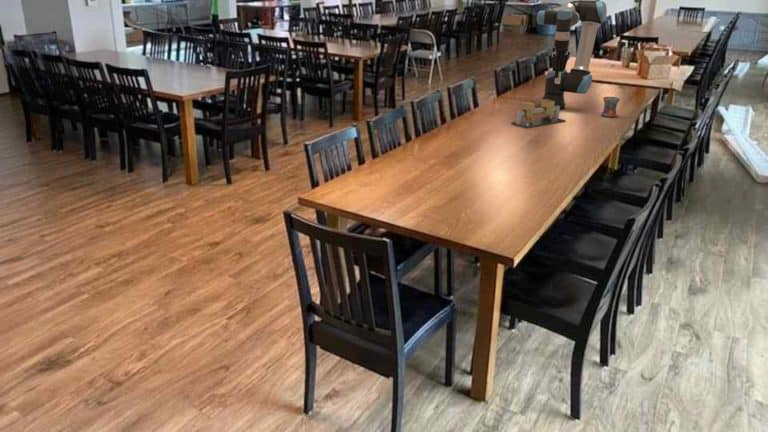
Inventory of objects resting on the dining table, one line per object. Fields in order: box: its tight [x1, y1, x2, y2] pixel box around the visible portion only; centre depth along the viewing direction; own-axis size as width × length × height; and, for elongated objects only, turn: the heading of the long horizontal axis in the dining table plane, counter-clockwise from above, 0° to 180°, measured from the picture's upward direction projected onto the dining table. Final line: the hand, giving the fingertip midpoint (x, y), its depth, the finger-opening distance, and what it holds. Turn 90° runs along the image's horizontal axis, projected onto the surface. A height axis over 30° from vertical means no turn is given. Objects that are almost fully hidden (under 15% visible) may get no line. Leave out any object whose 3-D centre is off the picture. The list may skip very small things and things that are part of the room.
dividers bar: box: [515, 101, 560, 125], centre depth 339 cm, size 7×30×11 cm, turn 122°
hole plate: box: [510, 116, 567, 129], centre depth 341 cm, size 12×30×2 cm, turn 122°
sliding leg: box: [539, 99, 555, 120], centre depth 342 cm, size 7×4×10 cm, turn 32°
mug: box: [601, 96, 621, 118], centre depth 358 cm, size 12×9×11 cm
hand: (557, 83), depth 336 cm, fingers closed
